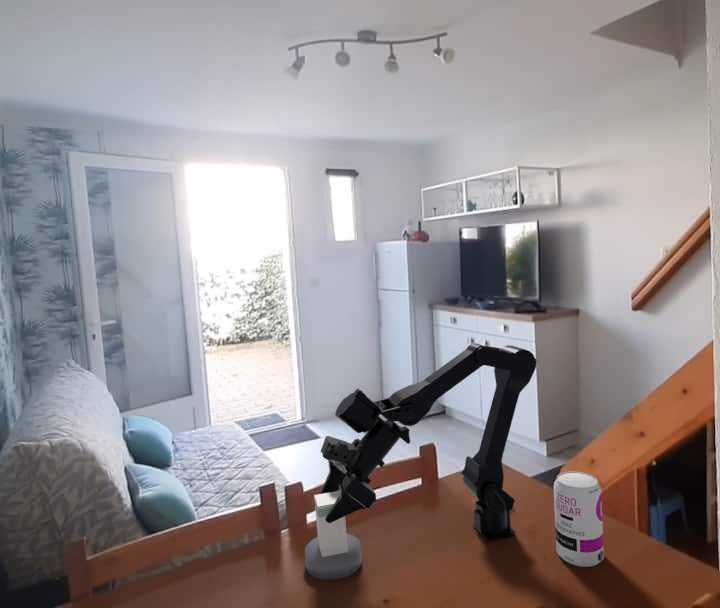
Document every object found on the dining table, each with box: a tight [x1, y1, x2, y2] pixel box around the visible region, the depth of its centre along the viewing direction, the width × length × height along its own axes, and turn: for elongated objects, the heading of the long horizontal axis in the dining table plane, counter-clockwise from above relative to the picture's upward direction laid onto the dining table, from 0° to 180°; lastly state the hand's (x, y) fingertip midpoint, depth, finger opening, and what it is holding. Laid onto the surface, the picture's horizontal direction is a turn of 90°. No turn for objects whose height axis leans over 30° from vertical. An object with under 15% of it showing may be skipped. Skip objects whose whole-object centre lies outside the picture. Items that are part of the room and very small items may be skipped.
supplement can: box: [553, 471, 605, 568], centre depth 96 cm, size 8×8×15 cm
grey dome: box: [304, 533, 363, 581], centre depth 100 cm, size 11×11×3 cm
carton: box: [313, 490, 348, 557], centre depth 99 cm, size 5×5×10 cm
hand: (323, 510), depth 99 cm, fingers open, 9 cm apart
